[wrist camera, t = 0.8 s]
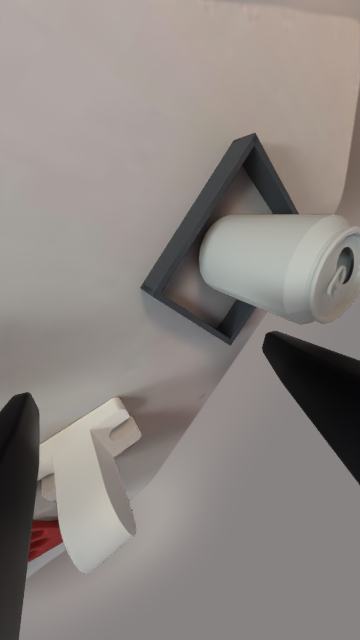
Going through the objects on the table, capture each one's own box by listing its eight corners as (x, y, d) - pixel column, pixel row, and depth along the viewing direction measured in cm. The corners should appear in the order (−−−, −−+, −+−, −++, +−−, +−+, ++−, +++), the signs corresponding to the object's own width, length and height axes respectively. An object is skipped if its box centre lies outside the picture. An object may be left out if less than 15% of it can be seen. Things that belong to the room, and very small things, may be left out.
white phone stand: (17, 458, 21) (8, 606, 13) (117, 394, 24) (160, 483, 16) (50, 484, 24) (60, 618, 16) (136, 424, 27) (180, 512, 19)
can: (259, 255, 27) (383, 277, 17) (216, 302, 26) (321, 353, 17) (232, 196, 22) (380, 183, 13) (179, 252, 22) (294, 282, 12)
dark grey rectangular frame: (216, 336, 28) (230, 345, 26) (139, 287, 21) (151, 295, 19) (287, 228, 28) (307, 229, 26) (233, 140, 20) (255, 132, 18)
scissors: (-3, 576, 24) (-2, 564, 24) (127, 529, 31) (125, 521, 32) (6, 537, 22) (7, 526, 23) (139, 498, 30) (136, 490, 31)
